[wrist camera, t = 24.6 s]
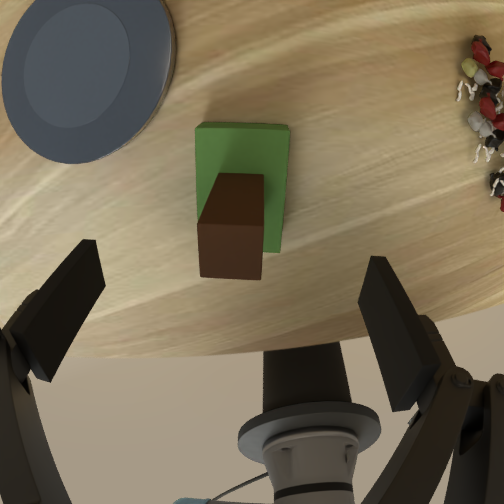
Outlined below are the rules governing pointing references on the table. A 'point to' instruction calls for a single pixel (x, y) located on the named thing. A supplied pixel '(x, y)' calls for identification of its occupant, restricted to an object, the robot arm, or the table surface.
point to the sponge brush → (239, 196)
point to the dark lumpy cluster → (486, 106)
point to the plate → (87, 75)
